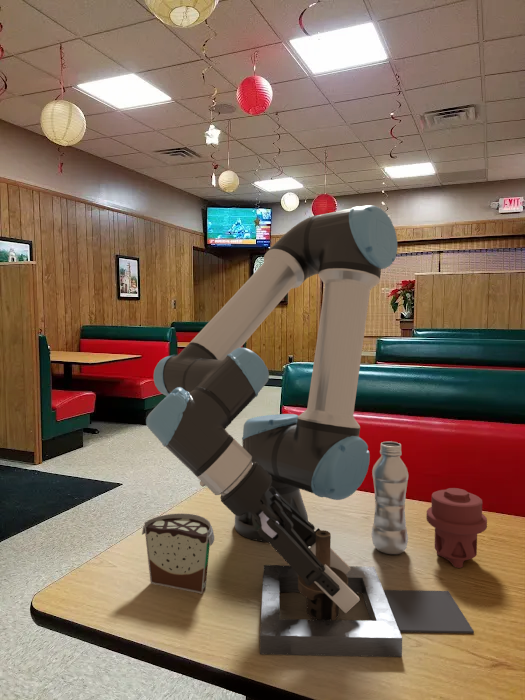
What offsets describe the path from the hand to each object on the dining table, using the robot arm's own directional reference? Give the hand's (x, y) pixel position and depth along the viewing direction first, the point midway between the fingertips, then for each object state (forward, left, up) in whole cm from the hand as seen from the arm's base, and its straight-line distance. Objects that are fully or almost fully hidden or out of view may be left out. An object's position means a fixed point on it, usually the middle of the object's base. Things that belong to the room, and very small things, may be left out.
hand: (347, 588), depth 71 cm
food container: (-9, -25, -4) cm, 27 cm away
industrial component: (+1, -4, -4) cm, 5 cm away
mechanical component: (-17, +22, -4) cm, 28 cm away
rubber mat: (-1, +12, -4) cm, 12 cm away
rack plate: (0, -3, -4) cm, 5 cm away
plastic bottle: (-20, +11, -4) cm, 23 cm away
